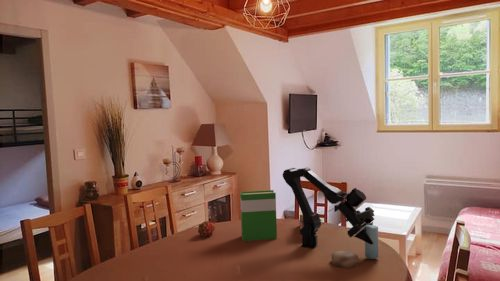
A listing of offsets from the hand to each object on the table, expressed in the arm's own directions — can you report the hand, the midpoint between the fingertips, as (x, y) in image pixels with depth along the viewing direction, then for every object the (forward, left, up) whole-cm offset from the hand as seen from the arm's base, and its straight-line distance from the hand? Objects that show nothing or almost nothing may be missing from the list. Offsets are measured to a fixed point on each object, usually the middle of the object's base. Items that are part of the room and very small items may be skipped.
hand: (374, 242), depth 160 cm
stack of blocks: (-39, +27, -8) cm, 49 cm away
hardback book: (-59, +8, -8) cm, 60 cm away
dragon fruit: (-87, +1, -8) cm, 88 cm away
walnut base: (-11, -8, -8) cm, 16 cm away
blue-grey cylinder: (-1, 0, -7) cm, 7 cm away
